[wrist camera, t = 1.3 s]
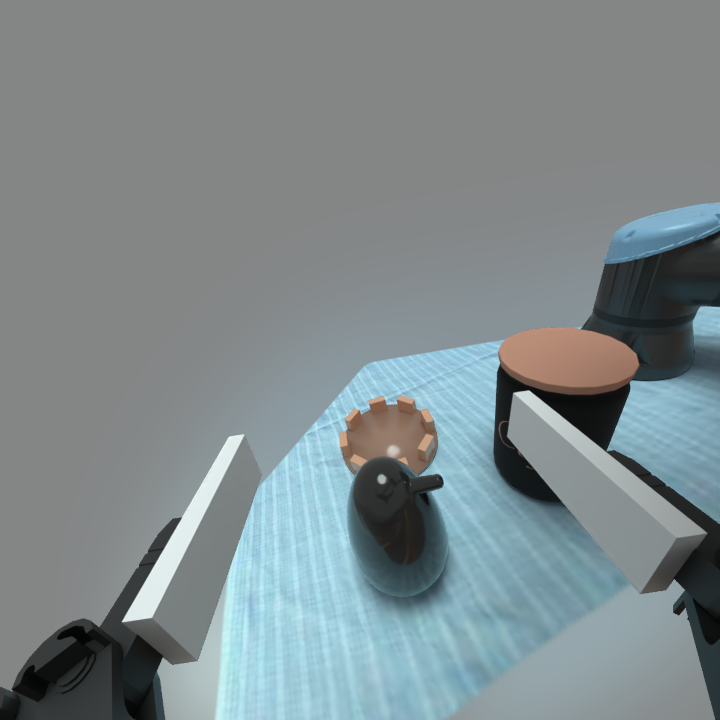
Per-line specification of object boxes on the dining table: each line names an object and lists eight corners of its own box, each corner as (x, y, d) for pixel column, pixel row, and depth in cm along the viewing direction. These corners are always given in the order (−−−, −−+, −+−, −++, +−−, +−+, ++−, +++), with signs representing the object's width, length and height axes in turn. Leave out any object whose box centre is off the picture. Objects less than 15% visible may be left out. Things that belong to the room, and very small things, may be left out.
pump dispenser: (458, 619, 24) (449, 544, 16) (353, 601, 27) (303, 531, 19) (447, 507, 32) (437, 423, 25) (368, 503, 35) (337, 427, 27)
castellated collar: (418, 398, 50) (416, 385, 49) (455, 467, 36) (454, 452, 35) (340, 420, 50) (335, 408, 48) (348, 498, 36) (341, 485, 35)
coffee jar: (480, 476, 35) (481, 368, 25) (508, 424, 40) (517, 322, 31) (583, 527, 27) (635, 403, 18) (598, 456, 33) (644, 334, 24)
